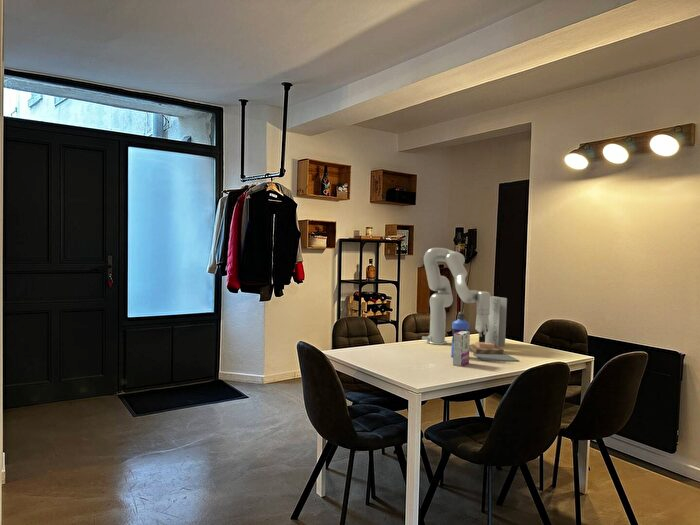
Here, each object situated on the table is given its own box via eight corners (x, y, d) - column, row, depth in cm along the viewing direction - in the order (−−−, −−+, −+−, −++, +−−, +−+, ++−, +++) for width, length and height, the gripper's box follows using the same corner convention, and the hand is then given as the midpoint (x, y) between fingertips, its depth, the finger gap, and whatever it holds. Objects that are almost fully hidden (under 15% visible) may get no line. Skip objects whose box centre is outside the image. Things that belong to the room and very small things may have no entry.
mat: (482, 360, 282) (483, 359, 282) (473, 354, 297) (473, 353, 297) (519, 361, 284) (519, 360, 284) (507, 355, 299) (507, 354, 299)
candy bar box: (460, 361, 277) (461, 330, 277) (469, 363, 274) (470, 331, 274) (452, 365, 268) (453, 333, 267) (461, 366, 265) (463, 334, 265)
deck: (476, 354, 298) (476, 349, 298) (468, 350, 311) (468, 345, 311) (503, 355, 300) (503, 349, 300) (494, 350, 313) (495, 345, 313)
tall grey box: (483, 342, 341) (485, 296, 340) (489, 342, 343) (491, 296, 343) (497, 346, 328) (500, 298, 328) (504, 346, 331) (506, 298, 330)
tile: (479, 347, 303) (479, 344, 303) (475, 345, 310) (475, 341, 310) (494, 348, 304) (494, 344, 304) (490, 345, 311) (490, 342, 311)
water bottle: (447, 356, 289) (449, 311, 289) (456, 354, 296) (458, 310, 295) (462, 359, 283) (464, 313, 282) (471, 357, 290) (473, 312, 289)
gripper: (472, 310, 319) (471, 341, 320) (481, 313, 304) (480, 345, 305) (484, 311, 320) (483, 341, 320) (493, 313, 305) (492, 345, 306)
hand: (481, 343), depth 313 cm, fingers closed
